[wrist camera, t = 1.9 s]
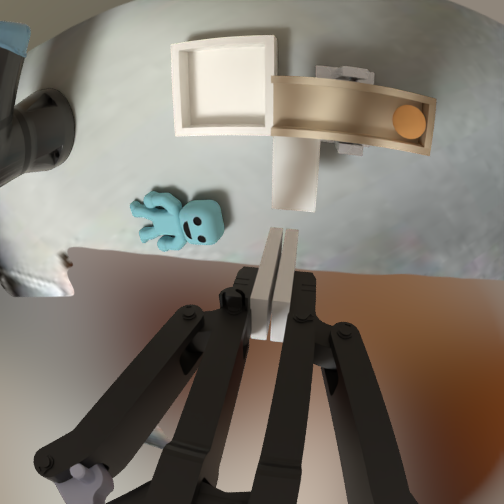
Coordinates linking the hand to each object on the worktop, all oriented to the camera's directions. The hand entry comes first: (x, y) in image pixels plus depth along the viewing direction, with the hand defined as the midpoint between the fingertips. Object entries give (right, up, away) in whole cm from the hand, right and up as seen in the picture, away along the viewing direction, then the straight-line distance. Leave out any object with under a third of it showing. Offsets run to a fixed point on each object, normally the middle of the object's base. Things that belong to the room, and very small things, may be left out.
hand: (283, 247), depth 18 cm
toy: (-13, +5, +25) cm, 29 cm away
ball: (+12, +11, +2) cm, 17 cm away
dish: (-5, +20, +13) cm, 24 cm away
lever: (+8, +10, +7) cm, 14 cm away
